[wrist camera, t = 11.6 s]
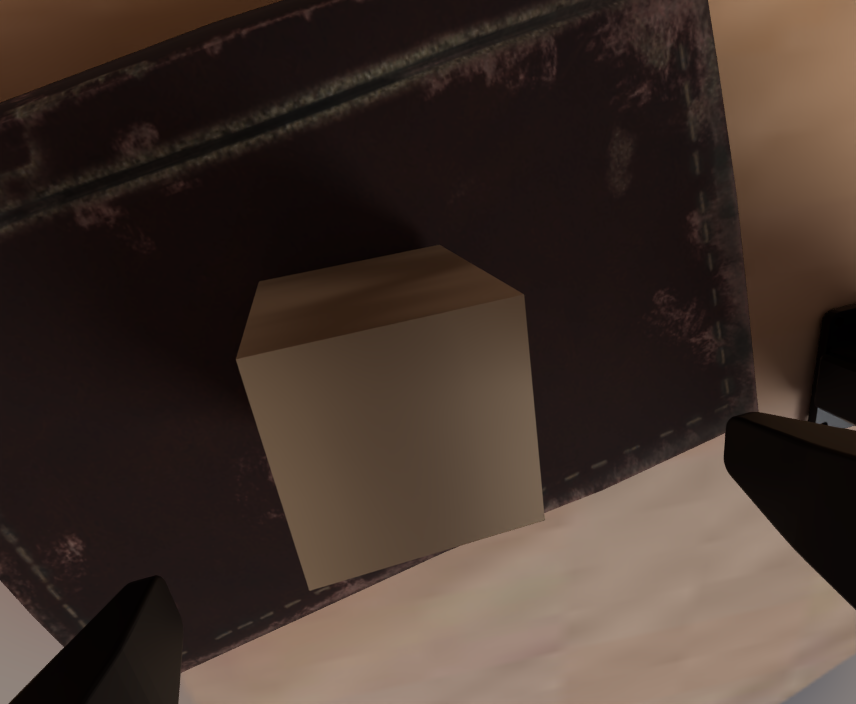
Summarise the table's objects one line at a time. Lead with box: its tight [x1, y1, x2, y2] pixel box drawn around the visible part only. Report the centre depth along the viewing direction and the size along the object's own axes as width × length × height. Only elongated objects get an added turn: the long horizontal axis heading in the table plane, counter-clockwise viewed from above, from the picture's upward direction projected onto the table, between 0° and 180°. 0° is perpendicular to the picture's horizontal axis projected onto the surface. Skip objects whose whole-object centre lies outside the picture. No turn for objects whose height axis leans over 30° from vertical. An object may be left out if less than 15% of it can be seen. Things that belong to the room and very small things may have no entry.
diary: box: [0, 0, 758, 673], centre depth 18 cm, size 19×25×5 cm
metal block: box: [236, 245, 545, 591], centre depth 13 cm, size 5×5×6 cm
